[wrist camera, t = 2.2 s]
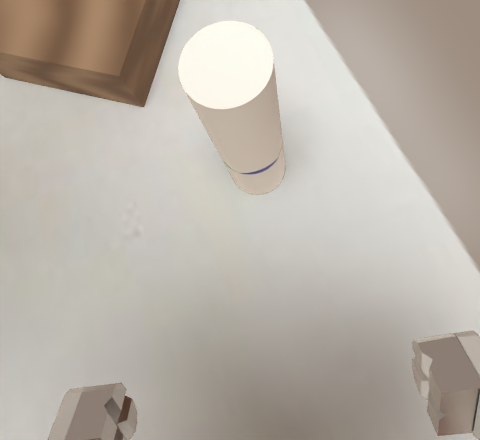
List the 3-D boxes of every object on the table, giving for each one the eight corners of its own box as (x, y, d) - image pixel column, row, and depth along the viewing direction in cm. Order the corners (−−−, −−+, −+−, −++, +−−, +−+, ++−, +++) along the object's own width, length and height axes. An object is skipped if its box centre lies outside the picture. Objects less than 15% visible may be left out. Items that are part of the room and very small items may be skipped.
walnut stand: (4, 77, 38) (-39, 44, 33) (56, -54, 40) (22, -103, 35) (143, 107, 35) (118, 76, 31) (191, -35, 37) (175, -85, 33)
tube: (244, 135, 34) (202, 9, 19) (293, 153, 33) (289, 36, 18) (222, 183, 33) (162, 91, 19) (272, 202, 32) (249, 122, 18)
